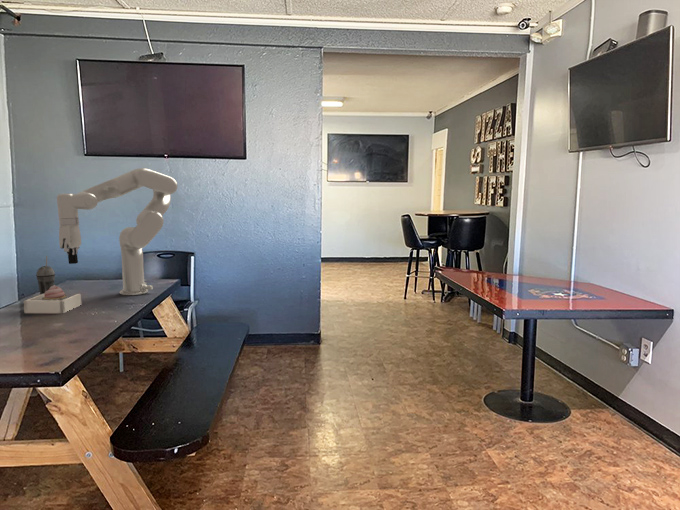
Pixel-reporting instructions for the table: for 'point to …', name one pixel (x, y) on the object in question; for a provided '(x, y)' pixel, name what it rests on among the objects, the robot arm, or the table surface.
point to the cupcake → (54, 294)
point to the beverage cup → (45, 278)
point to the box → (51, 304)
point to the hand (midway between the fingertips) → (73, 263)
